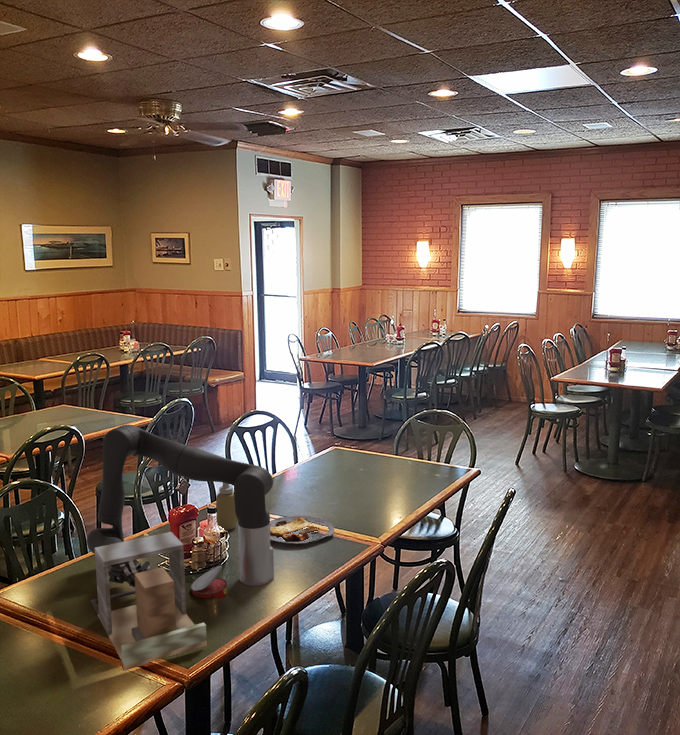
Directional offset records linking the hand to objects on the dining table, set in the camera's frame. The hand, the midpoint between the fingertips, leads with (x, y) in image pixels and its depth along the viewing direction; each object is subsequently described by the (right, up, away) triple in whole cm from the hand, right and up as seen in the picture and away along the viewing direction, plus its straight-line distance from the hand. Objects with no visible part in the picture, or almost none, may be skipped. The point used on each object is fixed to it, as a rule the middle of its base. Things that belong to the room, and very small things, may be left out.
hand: (136, 583), depth 190 cm
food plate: (+39, 0, +54) cm, 67 cm away
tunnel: (+4, -9, -5) cm, 11 cm away
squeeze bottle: (+15, +1, +61) cm, 62 cm away
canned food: (+17, -7, +12) cm, 22 cm away
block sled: (+9, -9, -14) cm, 19 cm away
